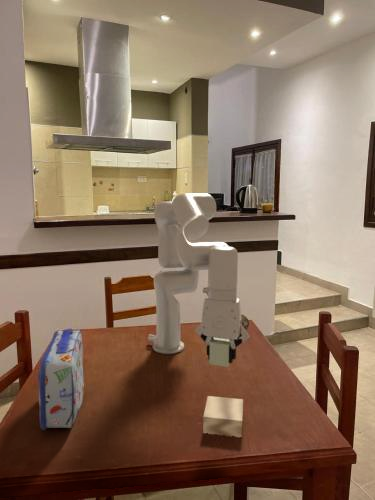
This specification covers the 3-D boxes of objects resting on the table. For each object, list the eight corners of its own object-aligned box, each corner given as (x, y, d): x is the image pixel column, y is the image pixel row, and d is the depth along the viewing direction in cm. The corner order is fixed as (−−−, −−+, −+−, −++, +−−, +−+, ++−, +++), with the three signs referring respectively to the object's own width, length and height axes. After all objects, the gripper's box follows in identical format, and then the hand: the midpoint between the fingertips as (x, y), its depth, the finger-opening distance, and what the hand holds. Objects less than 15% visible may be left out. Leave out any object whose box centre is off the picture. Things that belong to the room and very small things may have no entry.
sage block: (209, 364, 99) (209, 342, 98) (214, 356, 103) (214, 335, 102) (227, 367, 97) (228, 345, 96) (232, 359, 102) (232, 338, 101)
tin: (215, 334, 164) (215, 316, 163) (214, 331, 167) (214, 313, 166) (248, 333, 166) (249, 314, 164) (246, 330, 169) (247, 312, 168)
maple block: (203, 434, 98) (203, 416, 97) (207, 411, 107) (207, 395, 107) (241, 438, 96) (242, 420, 95) (242, 415, 106) (243, 399, 105)
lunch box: (52, 385, 121) (49, 320, 117) (85, 382, 123) (83, 318, 119) (36, 441, 94) (31, 359, 90) (79, 436, 96) (75, 356, 92)
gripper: (186, 294, 97) (186, 360, 99) (252, 300, 91) (250, 371, 94) (196, 287, 104) (195, 349, 106) (257, 293, 98) (255, 358, 101)
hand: (221, 358), depth 100 cm, fingers closed on sage block, 5 cm apart
